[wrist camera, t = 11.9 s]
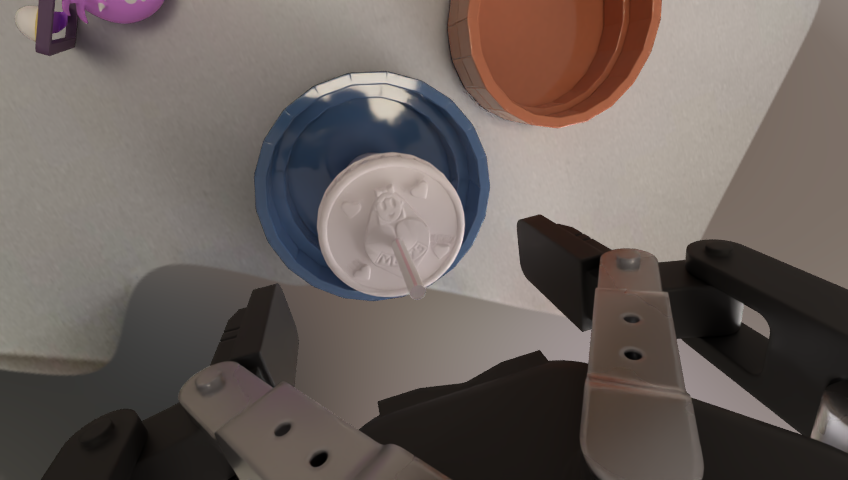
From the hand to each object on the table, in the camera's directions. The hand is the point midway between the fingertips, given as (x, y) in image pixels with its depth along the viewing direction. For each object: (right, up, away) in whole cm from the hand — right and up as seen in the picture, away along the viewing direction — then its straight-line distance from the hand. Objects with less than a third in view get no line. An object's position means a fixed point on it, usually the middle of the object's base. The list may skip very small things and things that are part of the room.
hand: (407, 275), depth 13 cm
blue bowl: (-3, +5, +13) cm, 14 cm away
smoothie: (-3, +5, +13) cm, 14 cm away
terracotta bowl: (+7, +14, +12) cm, 20 cm away
